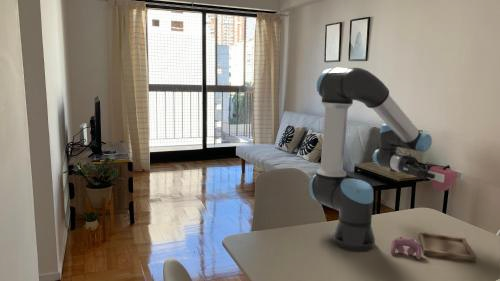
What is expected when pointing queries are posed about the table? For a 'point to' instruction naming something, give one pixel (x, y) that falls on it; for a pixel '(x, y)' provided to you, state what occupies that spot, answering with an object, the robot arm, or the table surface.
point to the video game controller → (405, 241)
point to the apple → (448, 177)
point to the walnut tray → (446, 247)
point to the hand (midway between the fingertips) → (453, 177)
